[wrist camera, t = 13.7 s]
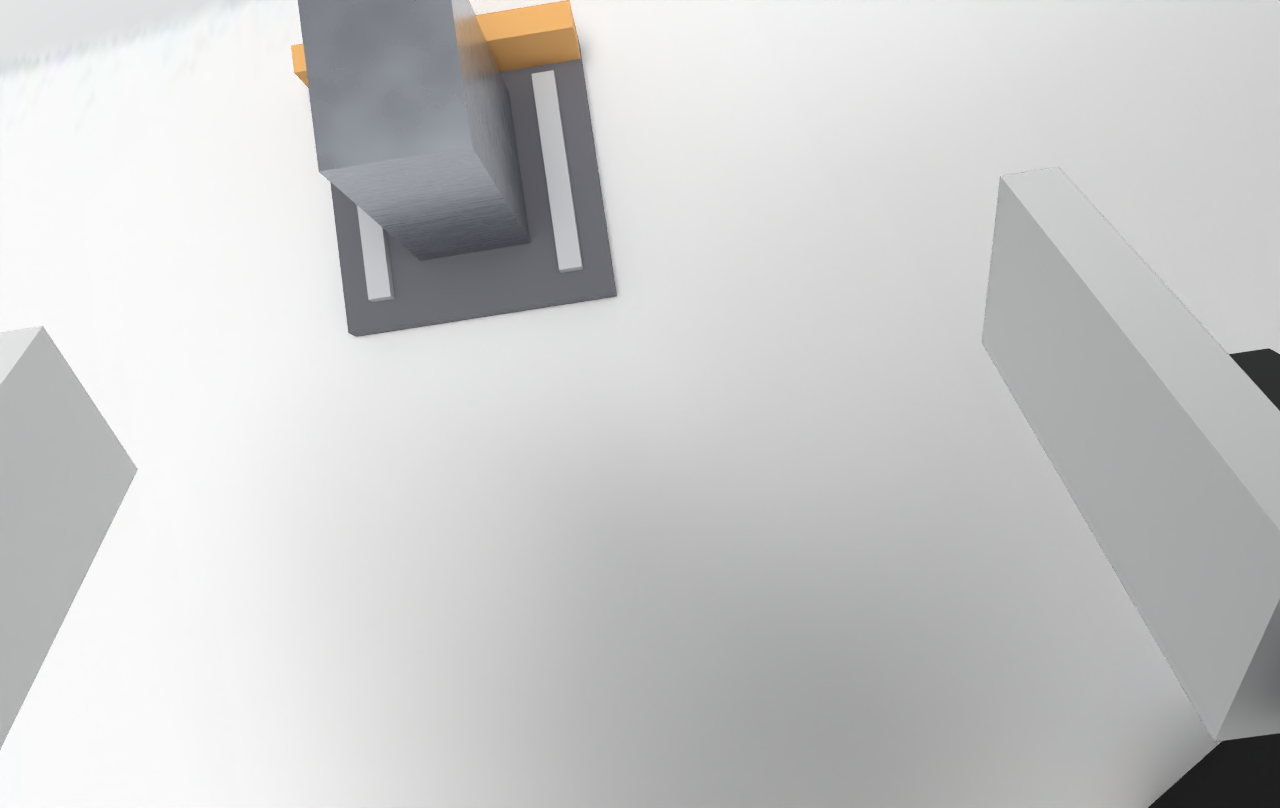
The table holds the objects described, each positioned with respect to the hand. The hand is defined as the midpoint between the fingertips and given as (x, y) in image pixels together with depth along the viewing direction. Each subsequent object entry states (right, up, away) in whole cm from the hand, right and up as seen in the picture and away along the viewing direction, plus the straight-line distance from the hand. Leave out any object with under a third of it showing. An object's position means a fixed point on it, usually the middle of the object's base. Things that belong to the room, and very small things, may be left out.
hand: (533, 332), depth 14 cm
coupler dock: (-6, +9, +30) cm, 32 cm away
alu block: (-6, +9, +29) cm, 31 cm away
